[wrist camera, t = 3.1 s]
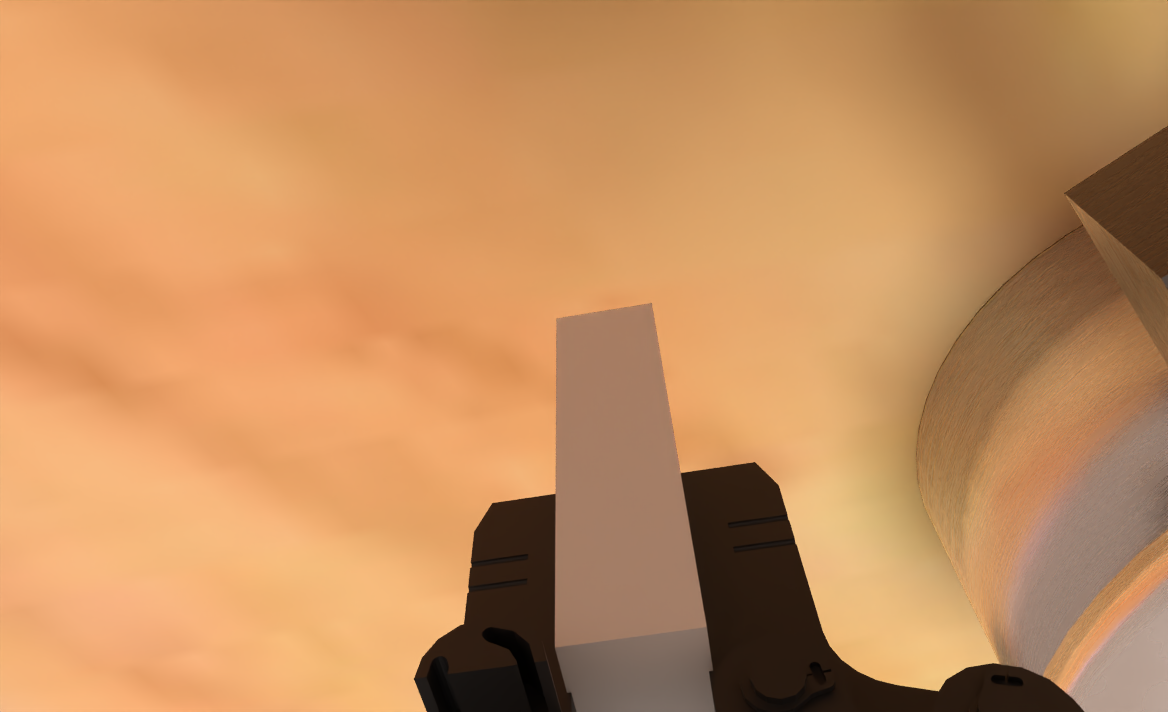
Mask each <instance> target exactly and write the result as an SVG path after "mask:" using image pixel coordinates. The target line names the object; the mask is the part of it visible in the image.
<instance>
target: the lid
mask: <svg viewBox="0 0 1168 712" xmlns="http://www.w3.org/2000/svg"><path fill="white" fill-rule="evenodd" d="M1064 194H1065V196H1066V197H1067V199H1068V201H1069V202H1070V204H1071V206H1072V207H1073V209H1074V211H1075V212H1076V214H1077V216H1078V217H1079V219H1080V221H1081V222H1082V224H1083V226H1084V227H1085V229H1086V231H1087V232H1088V234H1089V236H1090V237H1091V239H1092V241H1093V242H1094V244H1095V246H1096V247H1097V249H1098V251H1099V252H1100V254H1101V256H1102V257H1103V259H1104V261H1105V262H1106V264H1107V266H1108V267H1109V269H1110V271H1111V272H1112V274H1113V276H1114V277H1115V279H1116V281H1117V282H1118V284H1119V286H1120V287H1121V289H1122V291H1123V292H1124V294H1125V296H1126V297H1127V299H1128V301H1129V302H1130V304H1131V306H1132V307H1133V309H1134V311H1135V312H1136V314H1137V316H1138V317H1139V319H1140V321H1141V322H1142V324H1143V326H1144V327H1145V329H1146V331H1147V332H1148V334H1149V336H1150V337H1151V339H1152V341H1153V342H1154V344H1155V346H1156V347H1157V349H1158V351H1159V352H1160V354H1161V356H1162V357H1163V359H1164V361H1165V362H1166V364H1167V366H1168V126H1167V127H1166V128H1164V129H1162V130H1161V131H1159V132H1158V133H1156V134H1155V135H1153V136H1152V137H1150V138H1149V139H1147V140H1145V141H1144V142H1142V143H1141V144H1139V145H1138V146H1136V147H1135V148H1133V149H1132V150H1130V151H1129V152H1127V153H1125V154H1124V155H1122V156H1121V157H1119V158H1118V159H1116V160H1115V161H1113V162H1112V163H1110V164H1109V165H1107V166H1105V167H1104V168H1102V169H1101V170H1099V171H1098V172H1096V173H1095V174H1093V175H1092V176H1090V177H1088V178H1087V179H1085V180H1084V181H1082V182H1081V183H1079V184H1078V185H1076V186H1075V187H1073V188H1072V189H1070V190H1068V191H1067V192H1065V193H1064ZM1043 677H1045V678H1048V679H1050V680H1051V681H1052V682H1054V683H1055V684H1056V685H1057V686H1059V687H1060V688H1061V689H1062V690H1063V691H1065V692H1066V693H1067V694H1068V695H1069V696H1071V697H1072V698H1073V699H1074V700H1075V701H1076V703H1077V704H1078V705H1079V706H1080V707H1081V708H1082V709H1083V711H1084V712H1168V529H1167V530H1166V531H1165V532H1164V533H1163V534H1161V535H1160V536H1159V537H1158V538H1156V539H1155V540H1154V541H1153V542H1152V543H1150V544H1149V545H1148V546H1147V547H1145V548H1144V549H1143V550H1142V551H1141V552H1139V553H1138V554H1137V555H1136V556H1135V557H1134V558H1133V559H1132V560H1131V561H1130V562H1129V563H1128V564H1127V565H1126V566H1125V567H1124V568H1123V569H1122V570H1121V571H1120V572H1119V573H1118V574H1117V575H1116V576H1115V577H1114V578H1113V579H1112V580H1111V581H1110V582H1109V583H1108V584H1107V585H1106V586H1105V587H1104V588H1103V589H1102V590H1101V591H1100V592H1099V594H1098V595H1097V596H1096V597H1095V599H1094V600H1093V601H1092V602H1091V604H1090V605H1089V606H1088V607H1087V609H1086V610H1085V611H1084V612H1083V614H1082V615H1081V616H1080V617H1079V619H1078V620H1077V621H1076V622H1075V624H1074V625H1073V626H1072V627H1071V629H1070V630H1069V631H1068V633H1067V634H1066V636H1065V638H1064V639H1063V641H1062V643H1061V644H1060V646H1059V648H1058V649H1057V651H1056V653H1055V654H1054V656H1053V658H1052V659H1051V661H1050V662H1049V664H1048V666H1047V667H1046V669H1045V672H1044V674H1043Z"/></svg>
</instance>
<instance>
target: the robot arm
mask: <svg viewBox="0 0 1168 712" xmlns="http://www.w3.org/2000/svg"><path fill="white" fill-rule="evenodd" d="M471 564H472V568H470V576H469V585H468V588H469V593H468V594H467V603H466V612H465V621H464V625H460V626H459V627H457V628H455V629H454V630H452V631H451V632H449V633H447V634H446V635H444V636H443V637H441V638H439V639H438V640H437V641H436V642H435V644H434V645H433V646H432V647H431V648H430V649H429V650H428V652H427V653H426V654H425V655H424V656H423V657H422V659H421V662H420V665H419V667H418V670H417V672H416V675H415V678H414V680H415V683H416V685H417V688H418V690H419V693H420V695H421V698H422V700H423V703H424V706H425V708H426V711H427V712H1084V711H1083V709H1082V708H1081V707H1080V706H1079V705H1078V704H1077V703H1076V701H1075V700H1074V699H1073V698H1072V697H1071V696H1069V695H1068V694H1067V693H1066V692H1065V691H1063V690H1062V689H1061V688H1060V687H1059V686H1057V685H1056V684H1055V683H1054V682H1052V681H1051V680H1050V679H1048V678H1045V677H1043V676H1041V675H1039V674H1036V673H1034V672H1032V671H1029V670H1027V669H1025V668H1022V667H1016V666H1009V665H1001V664H994V663H992V664H986V665H980V666H974V667H968V668H965V669H964V670H962V671H960V672H959V673H957V674H955V675H954V676H952V677H950V678H949V679H947V680H946V681H945V683H944V684H943V686H942V687H941V689H940V690H939V691H932V690H925V689H919V688H912V687H905V686H899V685H894V684H890V683H886V682H882V681H878V680H875V679H873V678H870V677H868V676H866V675H864V674H862V673H860V672H857V671H856V670H854V669H853V668H852V667H850V666H849V665H848V664H846V663H845V662H844V661H842V660H841V659H840V658H839V657H838V655H837V654H836V653H835V652H834V651H833V650H832V648H831V647H830V646H829V644H828V642H827V640H826V637H825V635H824V633H823V631H822V628H821V624H820V621H819V618H818V614H817V611H816V608H815V604H814V601H813V598H812V594H811V591H810V588H809V585H808V581H807V578H806V575H805V571H804V568H803V565H802V561H801V558H800V555H799V551H798V548H797V545H796V544H795V538H794V535H793V532H792V528H791V525H790V522H789V520H788V516H787V512H786V508H785V505H784V502H783V499H782V495H781V492H780V489H779V485H778V484H777V483H776V482H775V481H774V480H773V479H772V478H771V477H770V476H769V475H767V474H766V473H765V472H764V471H763V470H762V469H761V468H760V467H759V466H758V465H757V464H756V463H755V462H753V463H747V464H740V465H733V466H726V467H719V468H713V469H706V470H699V471H692V472H685V473H680V467H679V461H678V455H677V449H676V443H675V438H674V432H673V426H672V420H671V414H670V408H669V402H668V396H667V391H666V385H665V379H664V373H663V367H662V361H661V355H660V349H659V343H658V338H657V332H656V326H655V320H654V314H653V308H652V303H650V304H644V305H638V306H631V307H625V308H619V309H613V310H606V311H600V312H594V313H588V314H581V315H575V316H569V317H563V318H557V333H556V494H552V495H545V496H539V497H532V498H525V499H518V500H511V501H504V502H498V503H492V505H491V506H490V508H489V509H488V511H487V513H486V514H485V516H484V517H483V519H482V520H481V522H480V524H479V525H478V527H477V528H476V530H475V532H474V539H473V548H472V558H471Z"/></svg>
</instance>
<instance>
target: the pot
mask: <svg viewBox="0 0 1168 712" xmlns="http://www.w3.org/2000/svg"><path fill="white" fill-rule="evenodd" d="M916 460H917V475H918V484H919V488H920V492H921V496H922V500H923V503H924V507H925V509H926V511H927V513H928V515H929V517H930V520H931V522H932V524H933V526H934V528H935V530H936V532H937V534H938V536H939V538H940V541H941V543H942V545H943V547H944V549H945V551H946V553H947V555H948V557H949V559H950V561H951V563H952V565H953V568H954V570H955V572H956V574H957V576H958V578H959V580H960V582H961V584H962V586H963V588H964V590H965V592H966V595H967V597H968V599H969V601H970V603H971V605H972V607H973V609H974V611H975V613H976V615H977V617H978V619H979V622H980V624H981V626H982V628H983V630H984V632H985V634H986V636H987V638H988V640H989V642H990V644H991V646H992V649H993V651H994V653H995V655H996V657H997V659H998V661H999V663H1000V664H1001V665H1009V666H1016V667H1022V668H1025V669H1027V670H1029V671H1032V672H1034V673H1036V674H1039V675H1041V676H1043V674H1044V672H1045V669H1046V667H1047V666H1048V664H1049V662H1050V661H1051V659H1052V658H1053V656H1054V654H1055V653H1056V651H1057V649H1058V648H1059V646H1060V644H1061V643H1062V641H1063V639H1064V638H1065V636H1066V634H1067V633H1068V631H1069V630H1070V629H1071V627H1072V626H1073V625H1074V624H1075V622H1076V621H1077V620H1078V619H1079V617H1080V616H1081V615H1082V614H1083V612H1084V611H1085V610H1086V609H1087V607H1088V606H1089V605H1090V604H1091V602H1092V601H1093V600H1094V599H1095V597H1096V596H1097V595H1098V594H1099V592H1100V591H1101V590H1102V589H1103V588H1104V587H1105V586H1106V585H1107V584H1108V583H1109V582H1110V581H1111V580H1112V579H1113V578H1114V577H1115V576H1116V575H1117V574H1118V573H1119V572H1120V571H1121V570H1122V569H1123V568H1124V567H1125V566H1126V565H1127V564H1128V563H1129V562H1130V561H1131V560H1132V559H1133V558H1134V557H1135V556H1136V555H1137V554H1138V553H1139V552H1141V551H1142V550H1143V549H1144V548H1145V547H1147V546H1148V545H1149V544H1150V543H1152V542H1153V541H1154V540H1155V539H1156V538H1158V537H1159V536H1160V535H1161V534H1163V533H1164V532H1165V531H1166V530H1167V529H1168V366H1167V364H1166V362H1165V361H1164V359H1163V357H1162V356H1161V354H1160V352H1159V351H1158V349H1157V347H1156V346H1155V344H1154V342H1153V341H1152V339H1151V337H1150V336H1149V334H1148V332H1147V331H1146V329H1145V327H1144V326H1143V324H1142V322H1141V321H1140V319H1139V317H1138V316H1137V314H1136V312H1135V311H1134V309H1133V307H1132V306H1131V304H1130V302H1129V301H1128V299H1127V297H1126V296H1125V294H1124V292H1123V291H1122V289H1121V287H1120V286H1119V284H1118V282H1117V281H1116V279H1115V277H1114V276H1113V274H1112V272H1111V271H1110V269H1109V267H1108V266H1107V264H1106V262H1105V261H1104V259H1103V257H1102V256H1101V254H1100V252H1099V251H1098V249H1097V247H1096V246H1095V244H1094V242H1093V241H1092V239H1091V237H1090V236H1089V234H1088V232H1087V231H1086V229H1085V227H1084V226H1082V227H1080V228H1078V229H1077V230H1075V231H1073V232H1071V233H1070V234H1068V235H1067V236H1065V237H1064V238H1063V239H1061V240H1060V241H1058V242H1057V243H1055V244H1054V245H1053V246H1051V247H1050V248H1048V249H1047V250H1045V251H1044V252H1043V253H1041V254H1040V255H1038V256H1037V257H1036V258H1034V259H1033V260H1032V261H1031V262H1030V263H1029V264H1027V265H1026V266H1025V267H1024V268H1023V269H1022V270H1020V271H1019V272H1018V273H1017V274H1016V275H1015V276H1014V277H1012V278H1011V279H1010V280H1009V281H1008V282H1007V283H1005V284H1004V285H1003V286H1002V287H1001V289H1000V290H999V291H998V292H997V293H996V294H995V295H994V296H993V297H992V298H991V299H990V300H989V301H988V302H987V303H986V304H985V306H984V307H983V308H982V309H981V310H980V311H979V312H978V313H977V314H976V316H975V317H974V318H973V320H972V321H971V322H970V324H969V325H968V326H967V328H966V329H965V330H964V332H963V333H962V334H961V336H960V337H959V338H958V340H957V341H956V342H955V344H954V346H953V348H952V349H951V351H950V353H949V354H948V356H947V358H946V360H945V361H944V363H943V365H942V366H941V368H940V370H939V372H938V374H937V376H936V379H935V381H934V384H933V386H932V388H931V391H930V393H929V396H928V398H927V400H926V404H925V408H924V412H923V415H922V419H921V423H920V427H919V433H918V443H917V453H916Z"/></svg>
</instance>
